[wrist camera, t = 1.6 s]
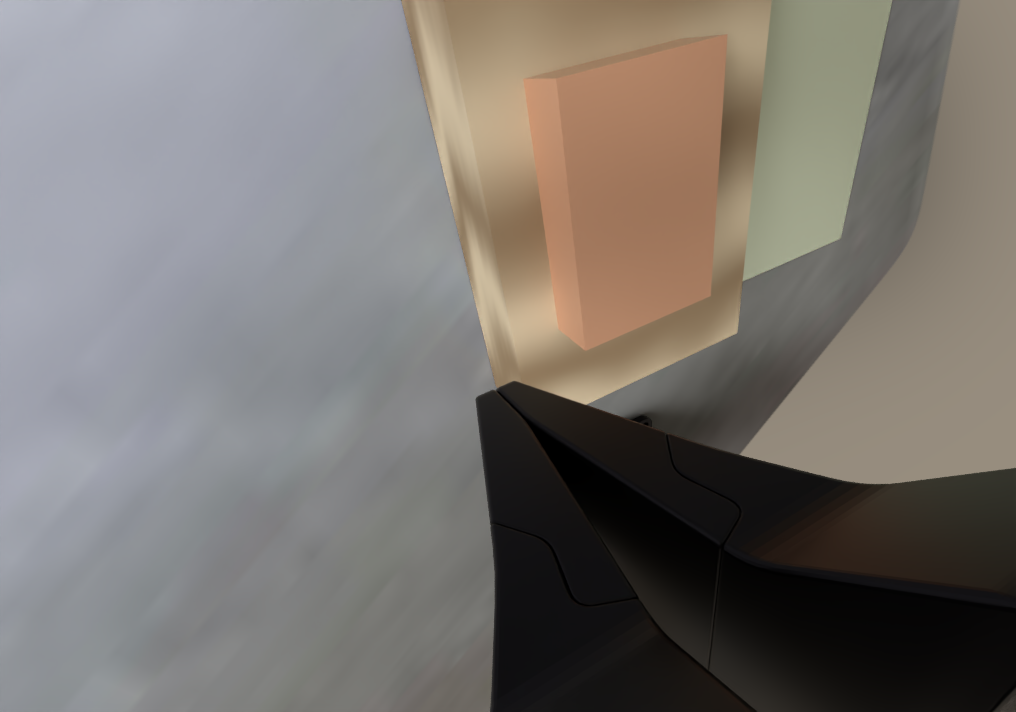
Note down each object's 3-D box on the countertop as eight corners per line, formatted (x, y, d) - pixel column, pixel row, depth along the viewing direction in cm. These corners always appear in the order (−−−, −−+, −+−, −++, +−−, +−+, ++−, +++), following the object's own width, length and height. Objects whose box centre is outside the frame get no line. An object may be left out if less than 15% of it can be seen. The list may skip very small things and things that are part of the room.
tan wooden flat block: (682, 304, 28) (737, 333, 25) (495, 385, 25) (531, 430, 22) (693, -120, 18) (788, -162, 15) (383, -74, 15) (420, -115, 12)
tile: (676, 280, 21) (710, 296, 20) (558, 329, 20) (585, 350, 18) (681, 38, 16) (727, 34, 15) (523, 78, 15) (556, 78, 13)
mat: (836, 237, 31) (840, 238, 31) (688, 301, 28) (692, 303, 28) (918, -153, 21) (926, -155, 21) (704, -121, 18) (710, -124, 18)
